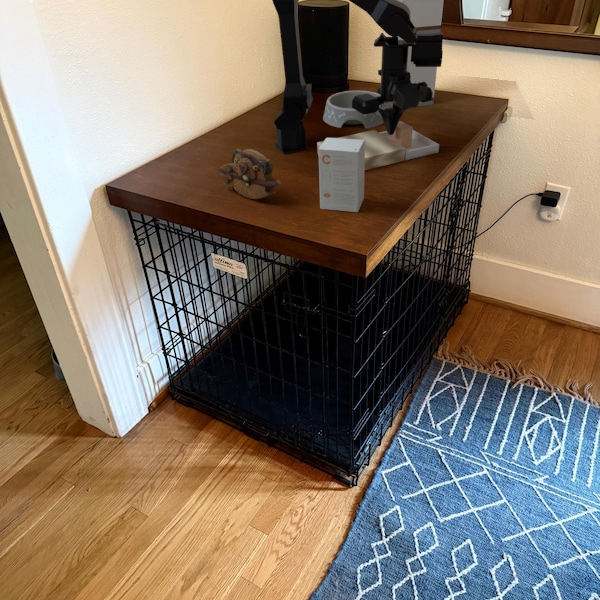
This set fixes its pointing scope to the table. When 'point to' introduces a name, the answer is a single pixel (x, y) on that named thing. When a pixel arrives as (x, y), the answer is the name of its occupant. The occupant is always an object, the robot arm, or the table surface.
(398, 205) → the table surface
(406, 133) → the tall peach block
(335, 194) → the small box
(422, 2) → the banded white pillar
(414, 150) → the bin
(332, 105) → the dog bowl
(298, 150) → the robot arm
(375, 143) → the platform
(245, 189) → the wooden carving
